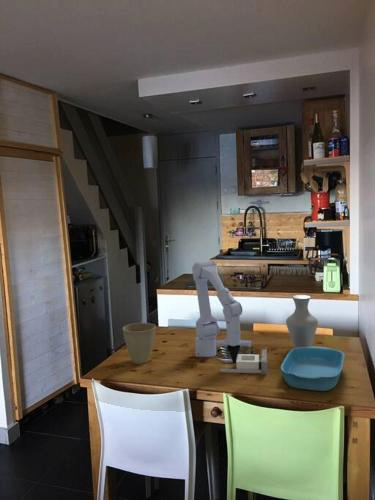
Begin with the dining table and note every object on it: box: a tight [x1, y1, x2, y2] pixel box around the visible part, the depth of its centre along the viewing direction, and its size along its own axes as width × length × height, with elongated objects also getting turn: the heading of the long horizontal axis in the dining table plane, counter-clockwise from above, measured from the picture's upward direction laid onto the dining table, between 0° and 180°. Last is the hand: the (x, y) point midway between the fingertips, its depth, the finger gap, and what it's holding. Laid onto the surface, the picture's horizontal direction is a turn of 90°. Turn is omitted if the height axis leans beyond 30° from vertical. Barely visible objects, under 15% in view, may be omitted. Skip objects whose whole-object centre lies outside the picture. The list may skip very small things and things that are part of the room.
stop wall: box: [260, 348, 268, 376], centre depth 182 cm, size 2×15×6 cm, turn 169°
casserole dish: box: [280, 345, 345, 392], centre depth 173 cm, size 37×22×7 cm, turn 157°
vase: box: [285, 294, 319, 348], centre depth 205 cm, size 14×14×25 cm
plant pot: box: [122, 322, 157, 365], centre depth 199 cm, size 15×15×16 cm
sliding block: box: [235, 353, 260, 370], centre depth 183 cm, size 9×9×4 cm
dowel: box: [240, 346, 251, 354], centre depth 198 cm, size 4×4×7 cm
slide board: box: [220, 358, 262, 374], centre depth 184 cm, size 20×16×2 cm
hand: (234, 362), depth 184 cm, fingers closed
